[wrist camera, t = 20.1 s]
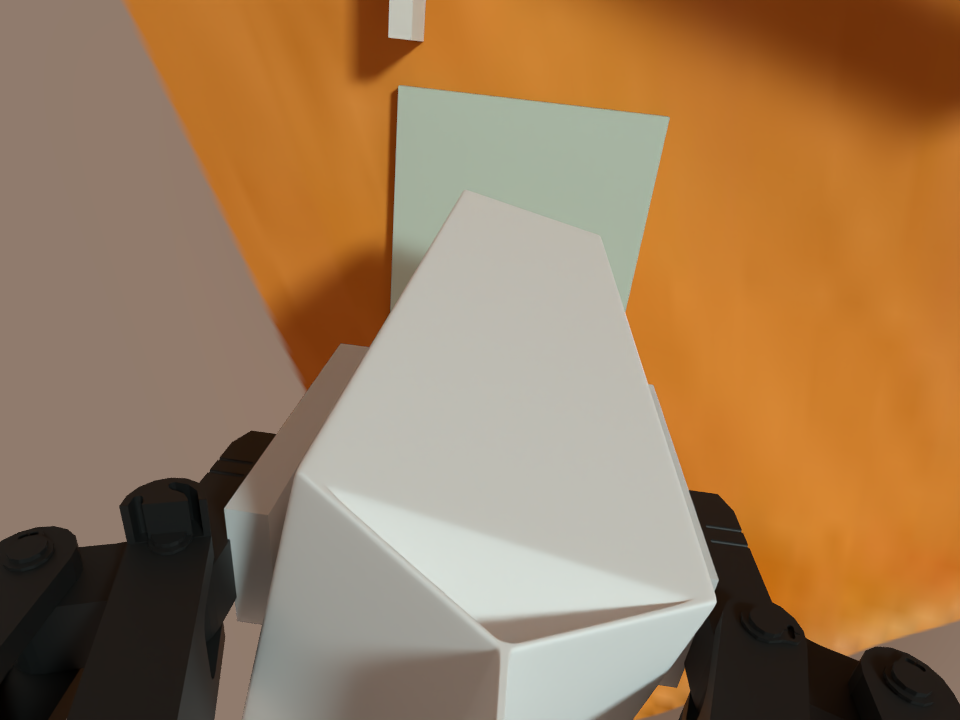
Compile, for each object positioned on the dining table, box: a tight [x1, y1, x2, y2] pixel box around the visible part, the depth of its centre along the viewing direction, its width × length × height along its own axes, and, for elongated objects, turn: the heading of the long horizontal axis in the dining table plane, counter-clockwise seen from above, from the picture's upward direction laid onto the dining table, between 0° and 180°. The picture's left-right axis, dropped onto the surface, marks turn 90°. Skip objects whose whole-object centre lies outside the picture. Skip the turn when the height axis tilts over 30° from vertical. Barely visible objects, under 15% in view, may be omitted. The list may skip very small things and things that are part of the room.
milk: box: [242, 190, 717, 720], centre depth 16 cm, size 6×6×22 cm
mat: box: [390, 85, 670, 312], centre depth 32 cm, size 13×13×1 cm
